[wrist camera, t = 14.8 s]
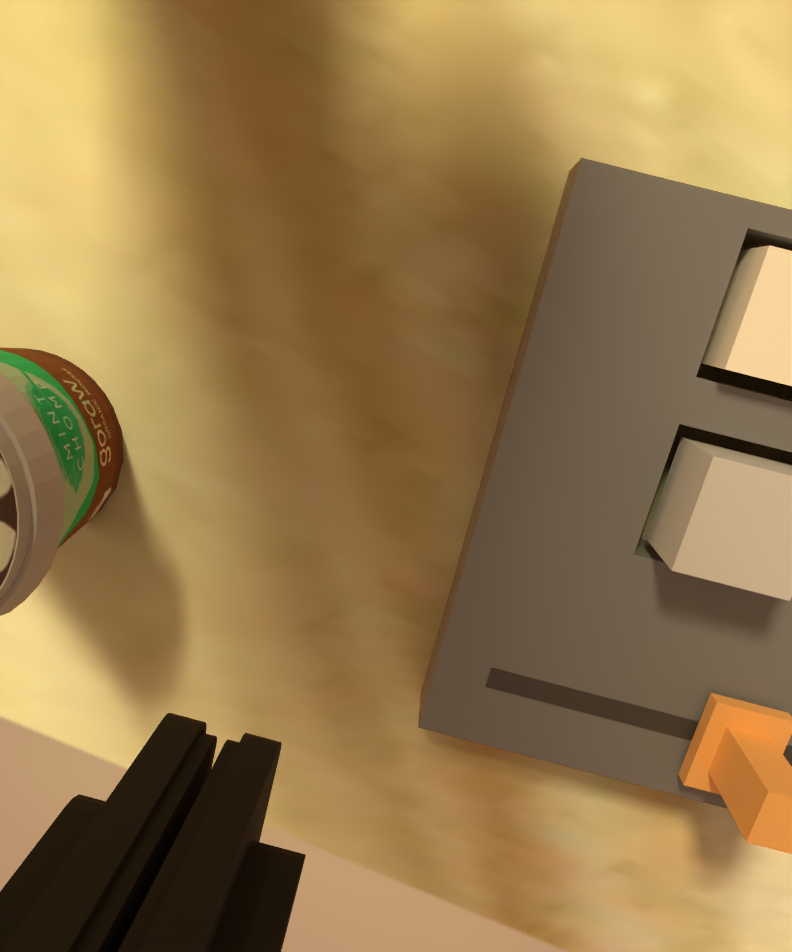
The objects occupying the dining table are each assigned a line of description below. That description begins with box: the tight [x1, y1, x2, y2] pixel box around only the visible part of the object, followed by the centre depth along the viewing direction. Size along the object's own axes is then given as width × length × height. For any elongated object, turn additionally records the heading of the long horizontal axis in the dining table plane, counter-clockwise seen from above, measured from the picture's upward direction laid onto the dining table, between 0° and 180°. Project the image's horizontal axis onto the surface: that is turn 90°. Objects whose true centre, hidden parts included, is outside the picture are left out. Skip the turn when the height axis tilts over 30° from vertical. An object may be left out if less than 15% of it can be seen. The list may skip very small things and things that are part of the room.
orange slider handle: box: [678, 693, 792, 854], centre depth 31 cm, size 4×4×5 cm
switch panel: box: [418, 158, 792, 808], centre depth 33 cm, size 26×20×3 cm
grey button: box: [646, 437, 792, 601], centre depth 30 cm, size 5×5×4 cm
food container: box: [0, 348, 123, 616], centre depth 30 cm, size 12×6×10 cm, turn 32°
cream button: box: [701, 245, 792, 386], centre depth 30 cm, size 5×5×4 cm
